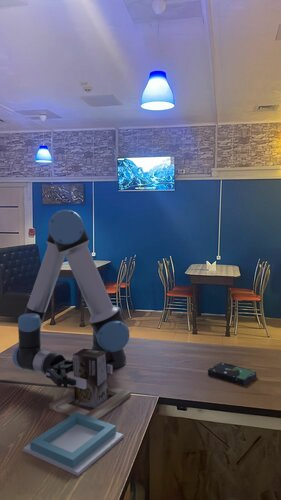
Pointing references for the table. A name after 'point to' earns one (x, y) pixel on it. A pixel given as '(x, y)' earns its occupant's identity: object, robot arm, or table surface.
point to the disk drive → (232, 373)
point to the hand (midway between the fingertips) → (99, 376)
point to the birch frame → (98, 412)
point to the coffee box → (91, 377)
